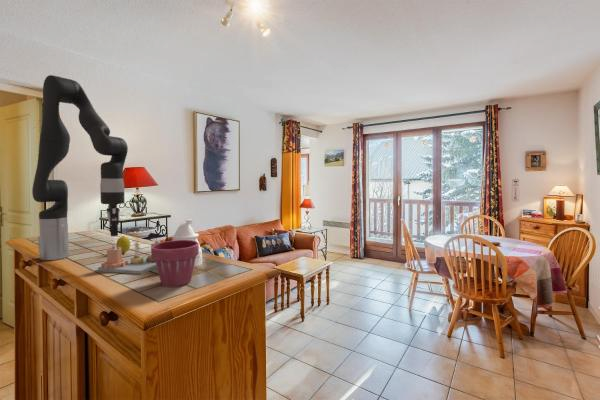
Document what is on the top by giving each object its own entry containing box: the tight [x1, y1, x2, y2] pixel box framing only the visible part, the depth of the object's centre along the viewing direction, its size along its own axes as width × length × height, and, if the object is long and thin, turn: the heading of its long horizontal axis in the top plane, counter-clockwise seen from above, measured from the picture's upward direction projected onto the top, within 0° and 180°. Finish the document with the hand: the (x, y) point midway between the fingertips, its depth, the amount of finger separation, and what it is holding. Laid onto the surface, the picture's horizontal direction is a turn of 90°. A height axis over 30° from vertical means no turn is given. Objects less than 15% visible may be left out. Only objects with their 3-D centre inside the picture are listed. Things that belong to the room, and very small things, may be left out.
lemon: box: [115, 235, 131, 254], centre depth 136 cm, size 6×6×8 cm
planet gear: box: [100, 247, 128, 269], centre depth 112 cm, size 8×8×6 cm
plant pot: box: [150, 240, 200, 288], centre depth 98 cm, size 14×14×13 cm
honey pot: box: [171, 218, 203, 268], centre depth 119 cm, size 13×13×18 cm
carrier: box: [97, 240, 161, 275], centre depth 117 cm, size 18×18×9 cm
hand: (113, 233), depth 112 cm, fingers open, 8 cm apart
